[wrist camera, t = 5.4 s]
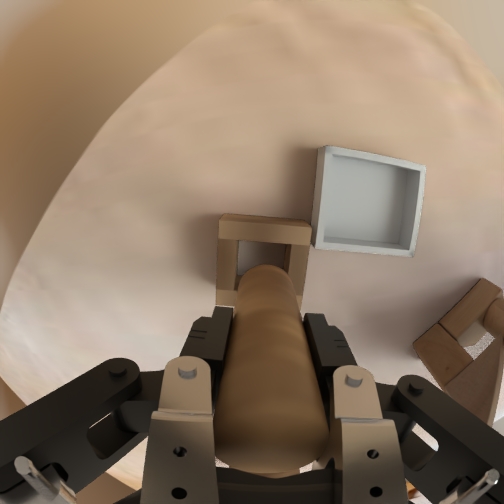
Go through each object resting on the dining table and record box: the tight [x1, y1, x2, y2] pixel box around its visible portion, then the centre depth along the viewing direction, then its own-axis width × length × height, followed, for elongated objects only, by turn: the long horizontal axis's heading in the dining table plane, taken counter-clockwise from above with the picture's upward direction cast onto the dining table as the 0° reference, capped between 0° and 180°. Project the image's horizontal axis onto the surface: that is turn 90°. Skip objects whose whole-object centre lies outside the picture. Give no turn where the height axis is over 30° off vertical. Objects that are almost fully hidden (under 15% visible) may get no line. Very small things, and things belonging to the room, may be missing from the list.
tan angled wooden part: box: [413, 278, 504, 427], centre depth 14 cm, size 4×11×18 cm, turn 131°
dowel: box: [213, 265, 329, 473], centre depth 10 cm, size 3×3×10 cm
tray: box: [310, 145, 426, 257], centre depth 19 cm, size 8×7×2 cm
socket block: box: [216, 214, 312, 309], centre depth 20 cm, size 6×6×3 cm
